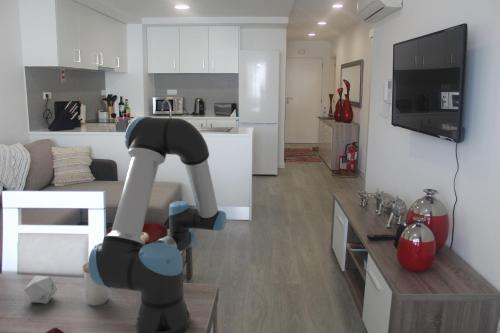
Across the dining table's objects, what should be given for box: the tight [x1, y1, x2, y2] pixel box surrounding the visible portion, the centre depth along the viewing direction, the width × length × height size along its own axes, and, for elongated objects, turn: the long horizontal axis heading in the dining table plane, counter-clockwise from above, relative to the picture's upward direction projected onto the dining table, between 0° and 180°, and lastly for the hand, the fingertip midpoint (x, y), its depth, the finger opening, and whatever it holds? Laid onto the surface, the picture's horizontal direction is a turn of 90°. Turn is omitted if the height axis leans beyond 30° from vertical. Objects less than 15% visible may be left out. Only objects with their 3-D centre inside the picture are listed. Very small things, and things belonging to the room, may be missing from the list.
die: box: [23, 275, 58, 305], centre depth 132 cm, size 8×9×10 cm
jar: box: [82, 262, 109, 306], centre depth 132 cm, size 7×7×12 cm
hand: (115, 270), depth 139 cm, fingers open, 13 cm apart
